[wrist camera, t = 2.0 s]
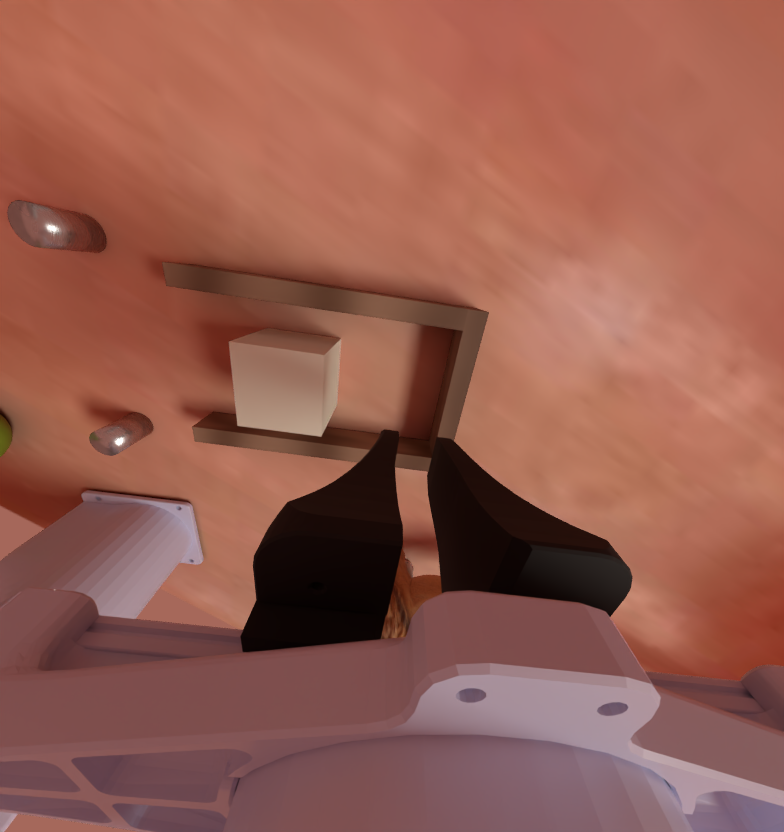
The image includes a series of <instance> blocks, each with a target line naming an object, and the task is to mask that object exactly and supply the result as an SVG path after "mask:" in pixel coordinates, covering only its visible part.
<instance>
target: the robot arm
mask: <svg viewBox="0 0 784 832" xmlns="http://www.w3.org/2000/svg"><path fill="white" fill-rule="evenodd" d="M398 443H399V432H398V431H391V430H383V431H381V434H380V436H379V438H378V440H377V441H376V443H375V444H374V445H373V447H372V448H371V449H370V451H369V452H368V453H367V454H366V455H365V456H364V457H363V458H362V459H361V460H360V461H359V462H358V463H357V464H356V465H355V466H354V467H353V468H352V469H351V470H349V471H348V472H347V473H345V474H344V475H343V476H341V477H340V478H339V479H337V480H336V481H334V482H332V483H331V484H329V485H327V486H325V487H323V488H321V489H319V490H317V491H315V492H313V493H310V494H308V495H305V496H303V497H300V498H297V499H295V500H292V501H289V502H287V503H286V505H285V506H284V507H283V509H282V510H281V511H280V512H279V514H278V515H277V517H276V518H275V519H274V521H273V522H272V524H271V525H270V527H269V528H268V530H267V532H266V534H265V535H264V537H263V539H262V541H261V543H260V545H259V547H258V549H257V551H256V553H255V555H254V561H253V571H254V580H255V590H256V602H255V605H254V607H253V609H252V611H251V614H250V616H249V618H248V620H247V623H246V625H245V627H244V629H243V630H238V629H228V628H218V627H209V626H199V625H189V624H179V623H169V622H160V621H150V620H140V619H136V617H137V616H138V615H139V613H140V612H141V611H142V610H143V608H144V607H145V605H146V604H147V603H148V602H149V600H150V599H151V598H152V597H153V595H154V594H155V593H156V592H157V590H158V589H159V588H160V587H161V585H162V584H163V583H164V581H165V580H166V579H167V578H168V576H169V575H170V574H171V572H172V571H173V570H174V569H175V567H176V566H177V565H178V563H179V562H180V563H189V564H201V563H202V561H203V554H202V550H201V545H200V540H199V536H198V531H197V526H196V521H195V517H194V512H193V507H192V505H191V504H190V503H188V502H181V501H173V500H165V499H156V498H148V497H140V496H131V495H123V494H115V493H106V492H98V491H90V490H87V491H85V492H83V493H82V494H81V497H82V499H83V501H84V502H82V503H81V504H80V505H78V506H77V507H75V508H74V509H72V510H71V511H70V512H68V513H67V514H65V515H64V516H62V517H61V518H60V519H58V520H57V521H55V522H54V523H52V524H51V525H50V526H48V527H47V528H45V529H44V530H42V531H41V532H40V533H38V534H37V535H35V536H34V537H32V538H31V539H30V540H28V541H27V542H25V543H24V544H22V545H21V546H20V547H18V548H17V549H15V550H14V551H13V552H11V553H10V554H8V555H7V556H6V557H5V558H3V559H2V560H1V561H0V832H4V831H5V830H6V829H7V827H8V826H9V825H10V823H11V822H12V821H13V820H14V818H15V817H16V815H17V814H23V815H32V816H39V817H46V818H53V819H60V820H67V821H74V822H81V823H87V824H93V825H100V826H106V827H113V828H119V829H126V830H133V831H139V832H784V666H778V665H762V666H758V667H755V668H753V669H752V670H750V671H748V672H747V673H746V674H745V675H744V676H743V677H742V678H741V681H735V680H725V679H716V678H706V677H696V676H686V675H677V674H667V673H657V672H647V671H644V670H643V668H642V667H641V665H640V663H639V662H638V660H637V659H636V657H635V655H634V654H633V652H632V651H631V649H630V648H629V646H628V644H627V643H626V641H625V640H624V638H623V637H622V635H621V633H620V632H619V630H618V629H617V627H616V625H615V624H614V622H613V621H612V620H611V618H610V616H611V615H612V614H613V613H614V611H615V610H616V609H617V608H618V606H619V605H620V604H621V603H622V601H623V600H624V599H625V597H626V596H627V594H628V592H629V590H630V588H631V584H632V574H631V571H630V569H629V567H628V566H627V565H626V564H625V562H624V561H623V560H622V558H621V557H620V556H619V555H618V553H617V552H616V551H615V550H614V548H613V547H612V546H611V545H610V543H609V542H608V541H607V540H605V539H603V538H600V537H598V536H596V535H593V534H591V533H589V532H586V531H584V530H581V529H579V528H577V527H574V526H572V525H570V524H568V523H566V522H564V521H562V520H560V519H558V518H556V517H554V516H552V515H550V514H548V513H546V512H544V511H543V510H541V509H539V508H537V507H535V506H534V505H532V504H530V503H529V502H527V501H525V500H524V499H522V498H521V497H519V496H517V495H516V494H514V493H513V492H512V491H510V490H509V489H507V488H506V487H505V486H503V485H502V484H500V483H499V482H498V481H496V480H495V479H494V478H493V477H492V476H490V475H489V474H488V473H487V472H486V471H484V470H483V469H482V468H481V467H480V466H479V465H478V464H477V463H476V462H475V461H474V460H472V459H471V458H470V457H469V456H468V455H467V454H466V453H465V452H464V451H463V450H462V449H461V448H460V447H459V446H458V445H457V444H456V443H455V442H454V441H453V440H452V439H450V438H443V437H436V441H435V446H434V450H433V454H432V458H431V462H430V466H429V471H428V475H427V480H428V497H429V502H430V508H431V513H432V518H433V523H434V529H435V534H436V539H437V545H438V552H439V563H440V575H441V590H442V594H440V595H437V596H435V597H433V598H430V599H428V600H426V601H425V602H424V603H423V604H422V605H421V606H420V608H419V609H418V610H417V612H416V613H415V614H414V615H413V617H412V618H411V622H410V625H409V629H408V632H407V635H406V637H399V638H389V639H381V636H382V631H383V626H384V622H385V617H386V615H387V613H388V609H389V604H390V600H391V595H392V591H393V586H394V582H395V577H396V573H397V568H398V564H399V559H400V555H401V550H402V545H403V525H402V521H401V517H400V512H399V507H398V500H397V492H396V480H395V461H396V455H397V449H398Z"/></svg>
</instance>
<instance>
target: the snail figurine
mask: <svg viewBox="0 0 784 832" xmlns="http://www.w3.org/2000/svg"><path fill="white" fill-rule="evenodd" d="M11 441H12V430H11V427H10V425H9V423H8V422H7V420H6V419H5V418H4V417H3V416H1V415H0V457H1V456H2V455H3V454H4V453H5V452H6V451H7V449H8V448H9V446H10V444H11Z"/></svg>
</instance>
